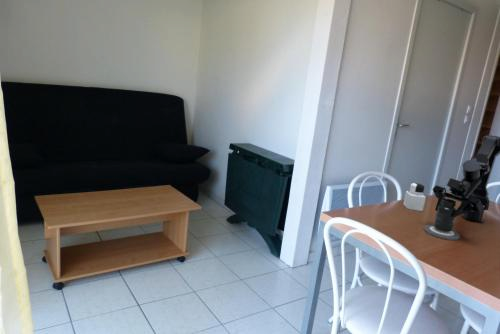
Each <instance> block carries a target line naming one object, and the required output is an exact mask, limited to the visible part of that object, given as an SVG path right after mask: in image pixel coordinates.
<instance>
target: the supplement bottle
mask: <svg viewBox="0 0 500 334" xmlns="http://www.w3.org/2000/svg"><path fill="white" fill-rule="evenodd" d="M441 203H442V205H439V206H438V208H437V211H435V212H436V214H435V217H434V222H433V225H434V227H435V228H436V229H438V230H441V231H445V232H450V231H452V230H454V225H455V220H456V217H454V218H453V217H452V215H453V213H454V212H455V211H456V210H457V208H456V204H457V200H454V199H451V198H446V199H442V202H441Z"/></svg>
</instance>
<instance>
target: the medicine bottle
mask: <svg viewBox="0 0 500 334" xmlns="http://www.w3.org/2000/svg"><path fill="white" fill-rule="evenodd" d="M424 191H425V186H424V184H422V183H417V182H416V183H415V182H413V183H411V184H410V186H409V191H408V190H406V191H405V195H404V198H403V199H404V200H403V203H402V204H403V206H404V207H405V208H406V210H409V211H410V210H411V211H419V212H423V211H424V208H425V202H426V199H427V198H426V196H425V195H424Z"/></svg>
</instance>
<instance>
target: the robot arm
mask: <svg viewBox="0 0 500 334" xmlns="http://www.w3.org/2000/svg"><path fill="white" fill-rule="evenodd" d="M499 155H500V136H497V135H490V134H487V135H484V136H483V139H482V141H481V147H480V148H479V150H478V152H477V154H476V155H473V156H471V157H470V159H468V160H466V161H465V160H464V162H463V163H462V177H463V178H462V179H461V180H458V179H455V178H449V180H448V182H447V184H446V186H447V187H449V191H450V192H448V191H447V189H446V187H444V186H441V185H434V186H433V188H432V191H433V193H434V195H435V197H436V198H437V203H436V205H435V209H434V210H435V212H437V208H438V206H439V205H442V203H441V202H442V199H450V200H454V201H456V202H459V203H460V205H459V206H458V207H457V208H456V211H455V212H454V213H453V215H452V217H453V218H454V217H455V218H456V217H458V216H461V217H462V218H464V219H466V220H468V221H469V222H473V223H474V222H475V223H484V220H482V219H483V215H484V211H489V207H490V198H489V195H490V194H489V191H488V188H487V187H488V184H489V181H490V178H491V175H492V171H493V168H494V164H495V161H496V160H497V157H498V156H499Z"/></svg>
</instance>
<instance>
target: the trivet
mask: <svg viewBox="0 0 500 334" xmlns="http://www.w3.org/2000/svg"><path fill="white" fill-rule="evenodd" d="M423 231H424V232H425V233H427V234H428V235H430V236H432V235H433V237H435V238H437V237H438V239H441V238H442V239H441V240H445V239H447V240H446V241H458V240H460V238H461V235H460V234H461V233H459V232H458V231H456V230H454V229H452V231H450V232H445V231H441V230H438V229H436V228H435V227H434V224H426V225H424V226H423Z"/></svg>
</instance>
